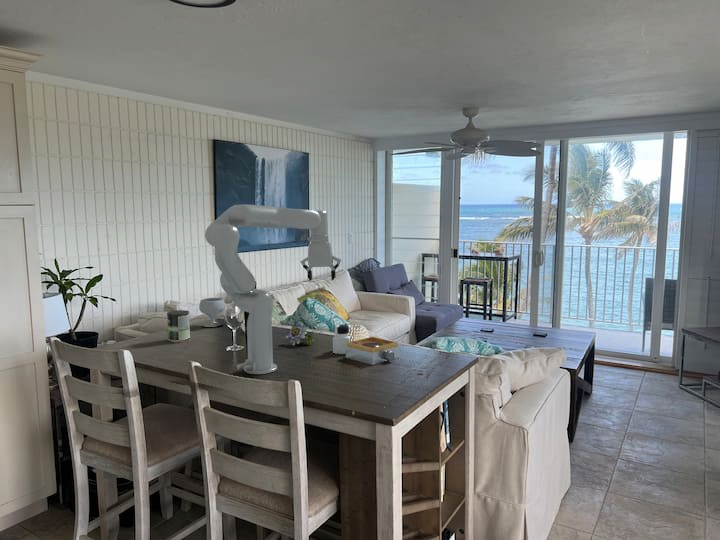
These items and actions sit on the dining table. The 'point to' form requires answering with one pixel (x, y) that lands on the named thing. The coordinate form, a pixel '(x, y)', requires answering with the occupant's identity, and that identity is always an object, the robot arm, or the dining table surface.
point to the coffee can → (178, 325)
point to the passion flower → (299, 335)
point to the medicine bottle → (340, 339)
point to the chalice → (212, 307)
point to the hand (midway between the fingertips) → (321, 279)
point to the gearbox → (372, 350)
